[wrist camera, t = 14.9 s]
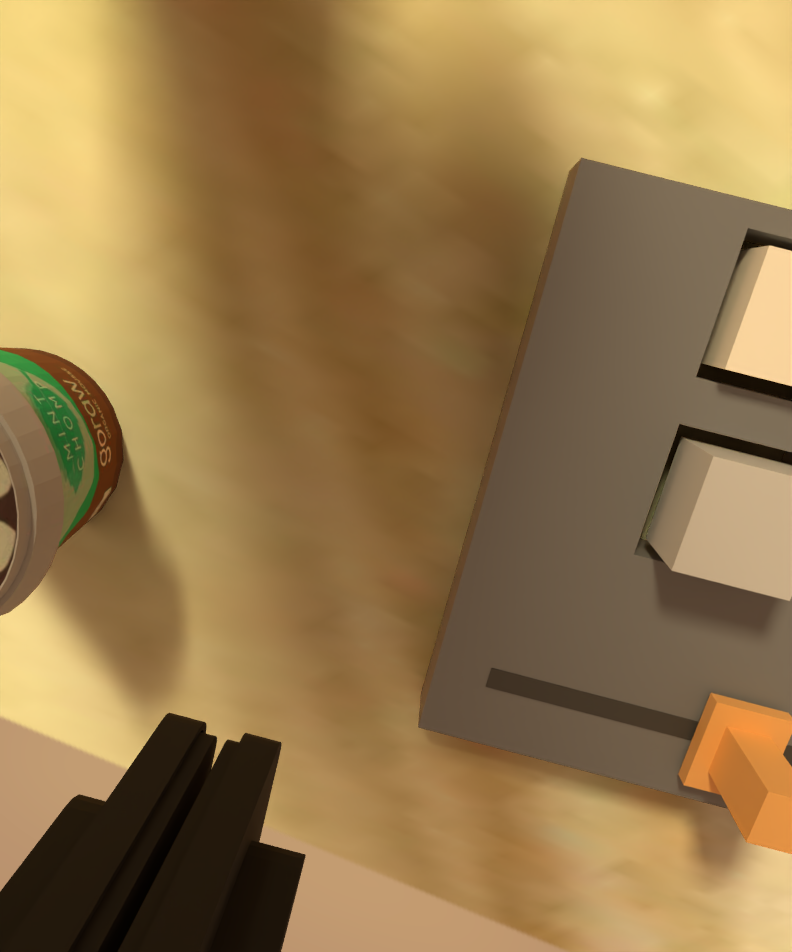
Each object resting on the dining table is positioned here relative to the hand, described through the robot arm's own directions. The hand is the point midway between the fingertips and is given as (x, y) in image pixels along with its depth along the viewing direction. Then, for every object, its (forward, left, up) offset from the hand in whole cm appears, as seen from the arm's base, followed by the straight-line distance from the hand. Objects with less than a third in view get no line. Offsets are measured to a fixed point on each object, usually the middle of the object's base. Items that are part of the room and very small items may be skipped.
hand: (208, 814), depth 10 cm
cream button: (-10, +15, -25) cm, 31 cm away
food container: (+2, -15, -25) cm, 29 cm away
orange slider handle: (+8, +19, -22) cm, 30 cm away
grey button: (-2, +15, -23) cm, 28 cm away
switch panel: (-1, +15, -25) cm, 29 cm away
